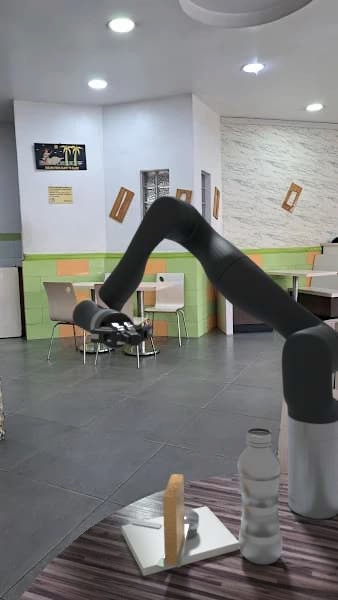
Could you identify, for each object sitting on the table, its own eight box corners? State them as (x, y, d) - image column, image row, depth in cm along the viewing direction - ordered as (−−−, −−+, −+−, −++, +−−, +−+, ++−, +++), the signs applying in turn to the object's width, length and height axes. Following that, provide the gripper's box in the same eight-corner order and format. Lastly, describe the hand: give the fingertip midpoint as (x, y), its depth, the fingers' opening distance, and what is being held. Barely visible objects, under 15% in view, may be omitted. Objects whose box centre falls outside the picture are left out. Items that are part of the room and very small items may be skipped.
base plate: (205, 510, 87) (204, 498, 87) (243, 553, 75) (242, 539, 74) (120, 530, 82) (120, 517, 81) (146, 580, 69) (145, 565, 69)
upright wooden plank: (171, 514, 81) (170, 454, 80) (200, 516, 80) (199, 456, 79) (154, 567, 68) (151, 495, 67) (188, 570, 67) (187, 498, 66)
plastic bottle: (283, 573, 70) (283, 441, 68) (237, 568, 71) (235, 438, 69) (282, 546, 76) (281, 425, 74) (239, 542, 77) (238, 423, 76)
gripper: (79, 312, 98) (97, 322, 82) (140, 308, 103) (169, 316, 87) (80, 348, 99) (99, 364, 83) (141, 342, 103) (170, 357, 87)
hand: (135, 340), depth 85 cm, fingers closed
